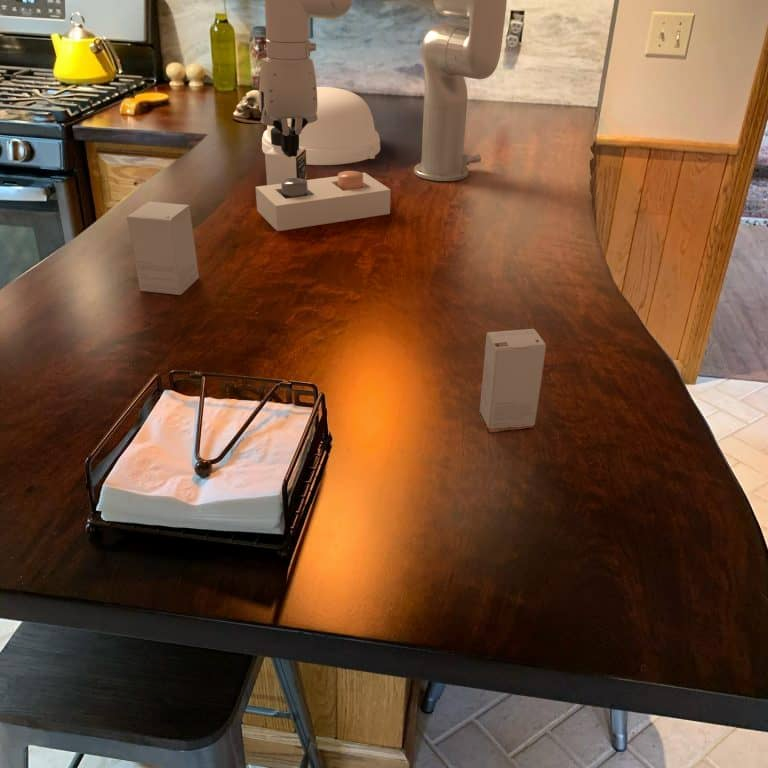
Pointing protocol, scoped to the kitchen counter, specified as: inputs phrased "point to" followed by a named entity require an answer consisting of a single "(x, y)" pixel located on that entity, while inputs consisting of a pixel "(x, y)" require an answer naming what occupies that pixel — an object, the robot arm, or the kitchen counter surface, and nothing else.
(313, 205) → the button console
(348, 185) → the light brown rounded piece
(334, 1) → the robot arm
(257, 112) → the skull
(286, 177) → the medicine bottle
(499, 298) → the kitchen counter surface
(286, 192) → the charcoal button
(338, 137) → the dome cover
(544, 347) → the skincare box
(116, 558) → the kitchen counter surface
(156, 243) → the supplement box
